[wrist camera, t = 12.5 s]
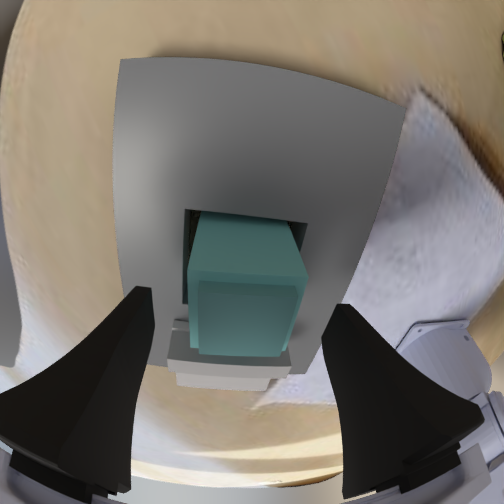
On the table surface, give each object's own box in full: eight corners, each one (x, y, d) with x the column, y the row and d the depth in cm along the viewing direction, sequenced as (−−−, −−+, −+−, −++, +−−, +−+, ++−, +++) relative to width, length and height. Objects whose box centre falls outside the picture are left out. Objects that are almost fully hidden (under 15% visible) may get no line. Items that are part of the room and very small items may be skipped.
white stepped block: (285, 328, 15) (292, 364, 13) (264, 384, 19) (267, 413, 16) (173, 320, 14) (166, 356, 12) (178, 378, 18) (174, 408, 16)
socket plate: (380, 104, 11) (406, 108, 9) (299, 349, 20) (305, 373, 18) (139, 65, 10) (120, 59, 8) (145, 337, 19) (138, 362, 17)
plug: (281, 207, 14) (313, 288, 8) (269, 270, 16) (287, 362, 11) (204, 201, 14) (184, 280, 8) (201, 265, 16) (189, 358, 10)
